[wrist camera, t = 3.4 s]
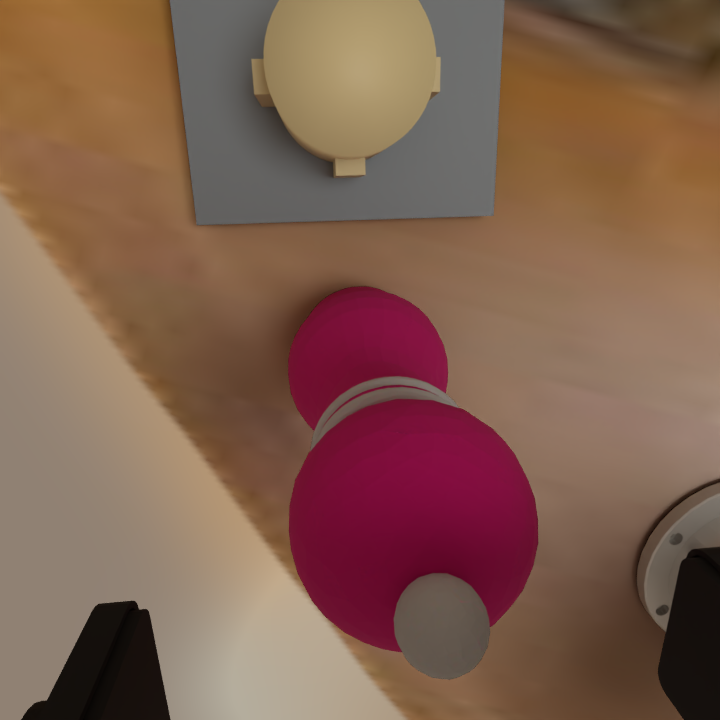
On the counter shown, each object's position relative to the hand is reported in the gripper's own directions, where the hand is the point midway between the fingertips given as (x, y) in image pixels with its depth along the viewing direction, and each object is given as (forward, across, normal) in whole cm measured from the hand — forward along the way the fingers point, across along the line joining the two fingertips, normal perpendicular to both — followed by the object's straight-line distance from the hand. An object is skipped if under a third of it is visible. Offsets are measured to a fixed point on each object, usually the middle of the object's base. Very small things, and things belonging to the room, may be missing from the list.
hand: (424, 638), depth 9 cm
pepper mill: (+20, -1, 0) cm, 20 cm away
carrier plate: (+20, 0, -16) cm, 25 cm away
